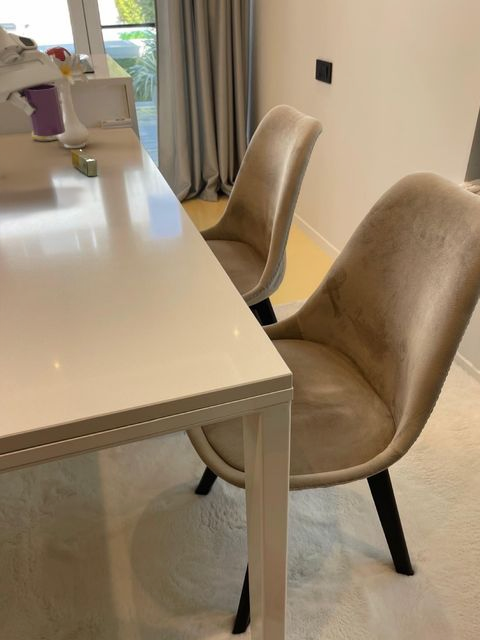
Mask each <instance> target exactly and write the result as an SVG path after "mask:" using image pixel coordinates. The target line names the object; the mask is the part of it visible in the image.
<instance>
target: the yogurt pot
mask: <svg viewBox="0 0 480 640" xmlns="http://www.w3.org/2000/svg"><path fill="white" fill-rule="evenodd" d="M23 92H24V97H23V98H24V100H25V101H26V102H28V103H32V104H33V105H34V106H35V107H36V109H37V110H36V112H35V114H33V115H28V118H29V122H30V127H31V132H32V131H33V134H34V135H37V136H54V135H59V134H62V133H64V132H65V126H64V121H63V110H62V105H61V106H60V100H59V97H60V94H59V92H58V90H57V86H55V85H50V84H42V85H40V86H36V87H32V88H28V89H23Z"/></svg>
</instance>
